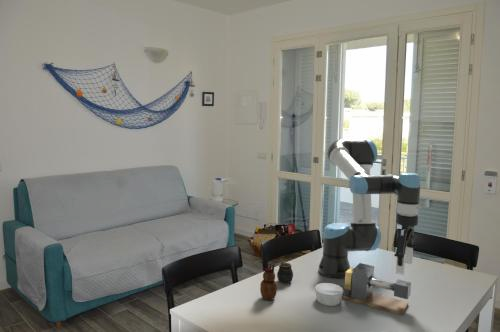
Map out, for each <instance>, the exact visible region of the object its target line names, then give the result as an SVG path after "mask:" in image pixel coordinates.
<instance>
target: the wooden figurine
mask: <svg viewBox="0 0 500 332" xmlns="http://www.w3.org/2000/svg"><path fill="white" fill-rule="evenodd" d="M262 278H263V279H262V281H260V290H259V291H260V295H261V297H262V298H263V299H264V300H268V301H273V300H274V299H275V298H276V296H277V292H278V282H277V281H276V273H275V262H273V264H271V263H269V266H268V265H267V267H265V268H264V272H263V273H262Z"/></svg>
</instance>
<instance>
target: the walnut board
mask: <svg viewBox="0 0 500 332" xmlns="http://www.w3.org/2000/svg"><path fill="white" fill-rule="evenodd" d="M342 289H345V286H344V287H342ZM341 300H346V301H350V302H354V303H356V304H360V305H364V306H367V307H368V306H369V307H371V308H374V309H377V310H378V309H379V310H382V311H386V312H390V313H392V314H393V313H394V314H397V315H400V316H403V314H404V312H405V311H406V310H407V308H408V307H409V301H405V300H401V299H397V298H393V297H389V296H387V295H386V296H385V295H381V294H378V293H374V292H373V294H372V295H371V296H370V297H369V298H368V300H367V301H362V300H358V299H355V298H351V297H347V296H344V295H342V298H341Z"/></svg>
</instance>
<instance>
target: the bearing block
mask: <svg viewBox="0 0 500 332" xmlns="http://www.w3.org/2000/svg"><path fill="white" fill-rule="evenodd" d="M353 268H354V269H353V271H352V291H351V298H355V299H358V300H362V301H367V300H368V298H369V297H370V296H371V295H372V294H373V293H374V286H371V285H368V284H369V277H370V278H374V276H375V266H374V265H370V264H365V263H362V262H361V263H360V262H359V263H358V264H357V265H356V266H355V267H353Z"/></svg>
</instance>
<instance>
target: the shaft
mask: <svg viewBox="0 0 500 332" xmlns="http://www.w3.org/2000/svg"><path fill="white" fill-rule="evenodd" d="M368 285H371V286H373V287H375V288H379V289H383V290H388V291H391V292H393V297H397V298H399V299H400V298H401V299H404V300H409V297H410V296H411V291H412V281H411V282H410V281H406V280H402V279H397V280H396V281H395V282H391V281H387V280H382V279H378V278H370V277H369V284H368Z"/></svg>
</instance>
